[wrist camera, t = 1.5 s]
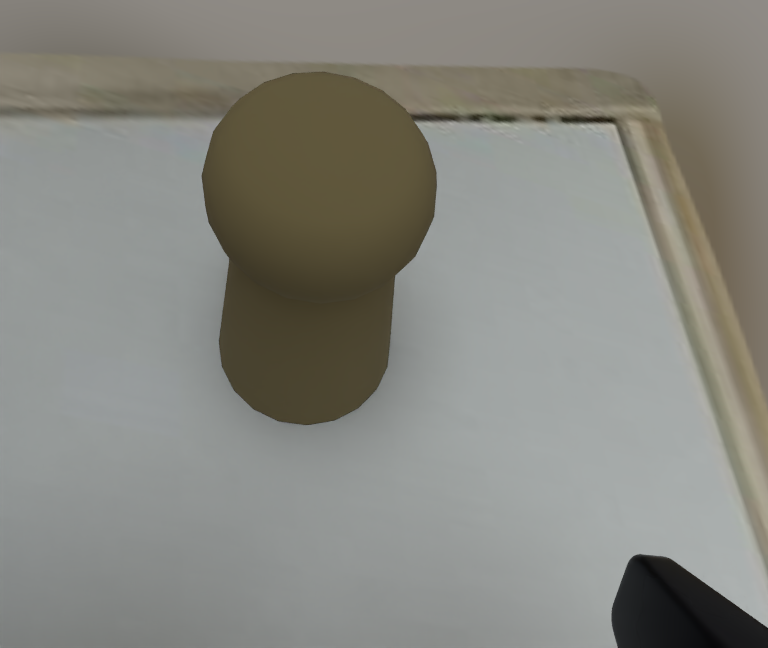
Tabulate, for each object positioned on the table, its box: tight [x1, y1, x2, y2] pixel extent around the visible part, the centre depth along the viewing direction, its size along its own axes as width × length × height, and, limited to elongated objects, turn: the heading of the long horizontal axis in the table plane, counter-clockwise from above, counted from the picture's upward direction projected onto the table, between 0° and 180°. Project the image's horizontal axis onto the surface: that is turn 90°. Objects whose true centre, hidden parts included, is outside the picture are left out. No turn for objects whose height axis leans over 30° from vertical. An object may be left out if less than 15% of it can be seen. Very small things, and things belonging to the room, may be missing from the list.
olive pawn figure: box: [202, 72, 437, 425], centre depth 18 cm, size 6×6×11 cm
